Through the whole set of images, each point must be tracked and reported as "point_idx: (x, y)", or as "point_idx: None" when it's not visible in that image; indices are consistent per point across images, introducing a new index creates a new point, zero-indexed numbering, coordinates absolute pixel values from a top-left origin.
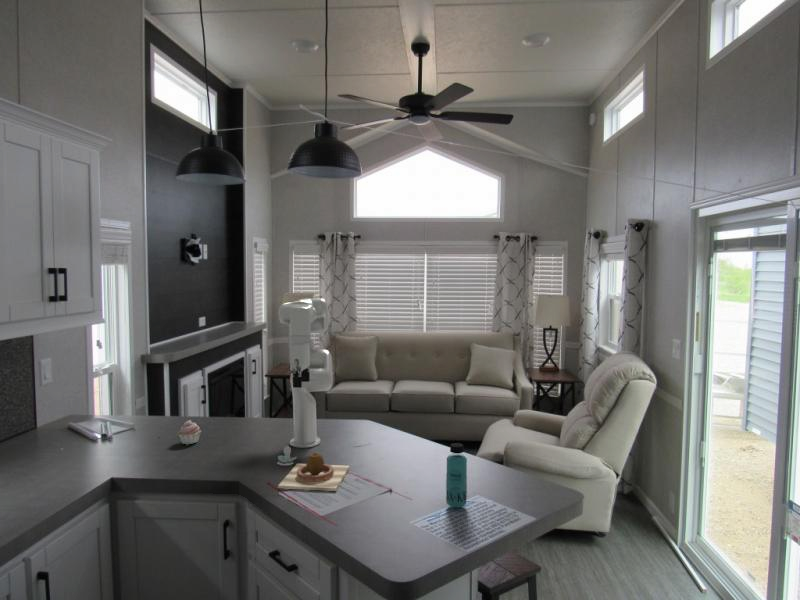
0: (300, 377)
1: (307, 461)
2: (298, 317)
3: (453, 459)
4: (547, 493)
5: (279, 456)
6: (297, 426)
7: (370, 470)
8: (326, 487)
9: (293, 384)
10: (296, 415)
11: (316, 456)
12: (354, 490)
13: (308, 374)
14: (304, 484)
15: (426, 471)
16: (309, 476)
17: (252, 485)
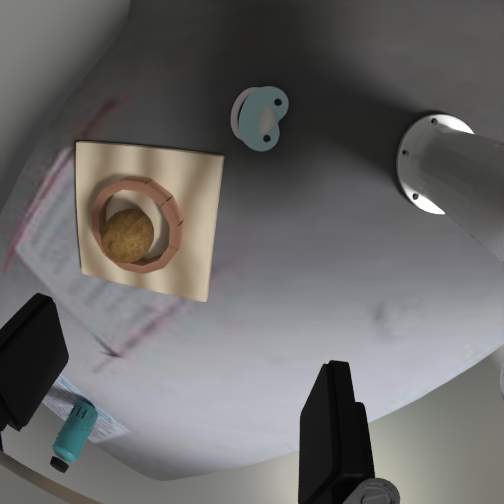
0: (8, 417)
1: (109, 219)
2: None
3: (53, 449)
4: (151, 469)
5: (275, 90)
6: (444, 150)
7: (201, 337)
8: (82, 254)
9: (25, 312)
10: (470, 156)
11: (105, 251)
12: (99, 302)
13: (300, 481)
14: (86, 204)
15: (202, 411)
16: (92, 219)
17: (98, 68)
